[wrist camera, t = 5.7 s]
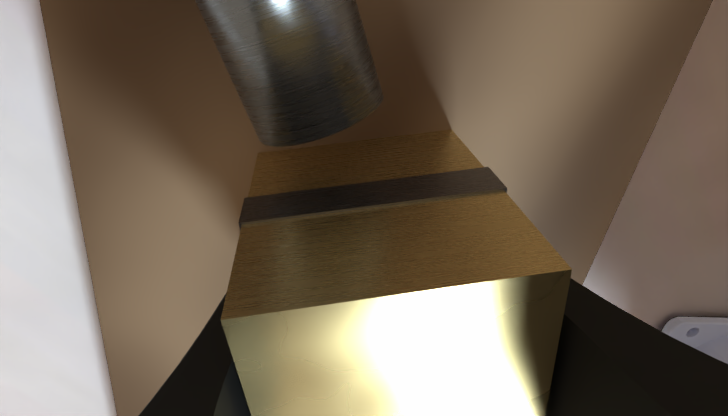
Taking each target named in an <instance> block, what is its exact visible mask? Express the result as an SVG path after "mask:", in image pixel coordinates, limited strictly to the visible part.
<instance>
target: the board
mask: <svg viewBox="0 0 728 416" xmlns="http://www.w3.org/2000/svg"><path fill="white" fill-rule="evenodd" d="M712 1H713V0H356V3H357V6H358V9H359V13H360V16H361V20H362V23H363V27H364V30H365V34H366V37H367V41H368V44H369V48H370V51H371V54H372V58H373V61H374V65H375V68H376V72H377V75H378V79H379V82H380V86H381V89H382V92H383V96H384V97H383V101H382V103H381V104H380V106H379V107H378V108H377V109H376V110H375V111H374V112H373V113H371V114H370V115H369V116H367V117H366V118H365V119H363V120H361V121H360V122H358V123H356V124H354V125H353V126H351V127H349V128H347V129H344V130H342V131H340V132H338V133H335V134H333V135H330V136H327V137H325V138H322V139H319V140H315V141H312V142H308V143H304V144H299V145H294V146H286V147H271V146H266V145H264V144H262V143H261V142H260V141H259V139H258V136H257V134H256V132H255V130H254V128H253V125H252V123H251V121H250V119H249V117H248V115H247V112H246V110H245V108H244V106H243V104H242V101H241V99H240V97H239V95H238V93H237V91H236V88H235V86H234V84H233V82H232V80H231V78H230V75H229V73H228V71H227V69H226V67H225V64H224V62H223V60H222V58H221V56H220V54H219V51H218V49H217V47H216V45H215V43H214V41H213V38H212V36H211V34H210V32H209V30H208V27H207V25H206V23H205V21H204V19H203V17H202V14H201V12H200V10H199V8H198V6H197V4H196V1H195V0H40V5H41V10H42V16H43V21H44V26H45V32H46V37H47V42H48V48H49V53H50V58H51V64H52V69H53V74H54V80H55V85H56V90H57V96H58V101H59V107H60V112H61V117H62V123H63V128H64V133H65V139H66V144H67V149H68V155H69V160H70V165H71V171H72V176H73V181H74V187H75V192H76V197H77V203H78V208H79V213H80V219H81V224H82V229H83V235H84V240H85V245H86V251H87V256H88V262H89V267H90V272H91V278H92V283H93V288H94V294H95V299H96V304H97V310H98V315H99V320H100V326H101V331H102V336H103V342H104V347H105V352H106V358H107V363H108V368H109V374H110V379H111V384H112V390H113V395H114V400H115V406H116V411H117V416H138V415H139V414H140V413H141V412H142V410H143V409H144V408H145V407H146V406H147V404H148V403H149V402H150V401H151V399H152V398H153V397H154V395H155V394H156V393H157V392H158V390H159V389H160V388H161V386H162V385H163V384H164V383H165V381H166V380H167V379H168V377H169V376H170V375H171V373H172V372H173V371H174V370H175V368H176V367H177V365H178V364H179V363H180V361H181V360H182V358H183V357H184V356H185V354H186V353H187V351H188V350H189V348H190V347H191V346H192V344H193V343H194V341H195V340H196V338H197V337H198V336H199V334H200V333H201V331H202V330H203V328H204V327H205V325H206V323H207V322H208V320H209V319H210V317H211V316H212V314H213V313H214V311H215V310H216V308H217V306H218V305H219V303H220V302H221V300H222V299H223V297H224V295H225V294H226V292H227V289H228V284H229V280H230V275H231V271H232V266H233V262H234V257H235V253H236V248H237V244H238V239H239V235H240V227H239V224H238V223H239V218H240V214H241V210H242V206H243V201H244V198H246V197H248V195H249V190H250V186H251V181H252V177H253V172H254V168H255V163H256V159H257V154H258V153H261V152H269V151H278V150H286V149H294V148H302V147H311V146H319V145H327V144H335V143H344V142H352V141H360V140H368V139H377V138H385V137H393V136H401V135H410V134H418V133H426V132H434V131H443V130H451V129H452V130H453V131H454V133H455V134H456V135H457V136H458V137H459V138H460V139H461V141H462V142H463V143H464V144H465V145H466V146H467V148H468V149H469V150H470V151H471V152H472V153H473V155H474V156H475V157H476V158H477V159H478V160H479V162H480V163H481V164H482V165H483V166H484V167H489V168H490V169H491V170H492V171H493V172H494V174H495V175H496V176H497V177H498V178H499V179H500V180H501V182H502V183H503V184H504V185H505V186H506V187H507V194H508V195H509V196H510V198H511V199H512V200H513V201H514V202H515V203H516V205H517V206H518V207H519V208H520V209H521V210H522V212H523V213H524V214H525V215H526V216H527V217H528V219H529V220H530V221H531V222H532V223H533V224H534V226H535V227H536V228H537V229H538V230H539V231H540V233H541V234H542V235H543V236H544V237H545V238H546V240H547V241H548V242H549V243H550V244H551V245H552V247H553V248H554V249H555V250H556V251H557V252H558V253H559V255H560V256H561V257H562V258H563V259H564V260H565V262H566V263H567V264H568V265H569V266H570V267H571V269H572V273H571V279H573V280H575V281H576V282H578V283H579V284H581V285H582V284H583V282H584V280H585V278H586V276H587V273H588V271H589V269H590V267H591V265H592V263H593V260H594V258H595V256H596V254H597V252H598V249H599V247H600V245H601V243H602V241H603V239H604V236H605V234H606V232H607V230H608V228H609V225H610V223H611V221H612V219H613V217H614V215H615V212H616V210H617V208H618V206H619V204H620V201H621V199H622V197H623V195H624V193H625V191H626V188H627V186H628V184H629V182H630V180H631V177H632V175H633V173H634V171H635V169H636V167H637V164H638V162H639V160H640V158H641V156H642V153H643V151H644V149H645V147H646V145H647V143H648V140H649V138H650V136H651V134H652V132H653V129H654V127H655V125H656V123H657V121H658V119H659V116H660V114H661V112H662V110H663V108H664V105H665V103H666V101H667V99H668V97H669V95H670V92H671V90H672V88H673V86H674V84H675V81H676V79H677V77H678V75H679V73H680V71H681V68H682V66H683V64H684V62H685V60H686V58H687V55H688V53H689V51H690V49H691V47H692V44H693V42H694V40H695V38H696V36H697V34H698V31H699V29H700V27H701V25H702V23H703V20H704V18H705V16H706V14H707V12H708V10H709V7H710V5H711V3H712Z"/></svg>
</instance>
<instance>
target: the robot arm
mask: <svg viewBox="0 0 728 416" xmlns="http://www.w3.org/2000/svg"><path fill="white" fill-rule="evenodd" d="M226 293H227V292H226ZM225 298H226V294H225V295H224V297H223V299H222V300H221V302H220V303H219V305H218V306H217V308H216V310H215V311H214V313H213V314H212V316H211V317H210V319H209V320H208V322H207V323H206V325H205V327H204V328H203V330H202V331H201V333H200V334H199V336H198V337H197V338H196V340H195V341H194V343H193V344H192V346H191V347H190V348H189V350H188V351H187V353H186V354H185V356H184V357H183V358H182V360H181V361H180V363H179V364H178V365H177V367H176V368H175V370H174V371H173V372H172V373H171V375H170V376H169V377H168V379H167V380H166V381H165V383H164V384H163V385H162V386H161V388H160V389H159V390H158V392H157V393H156V394H155V395H154V397H153V398H152V399H151V401H150V402H149V403H148V404H147V406H146V407H145V408H144V409H143V410H142V412H141V413H140V414H139V415H138V416H251V413H250V410H249V407H248V403H247V400H246V397H245V394H244V391H243V388H242V385H241V382H240V379H239V376H238V372H237V369H236V366H235V363H234V360H233V357H232V354H231V351H230V348H229V345H228V341H227V338H226V335H225V332H224V329H223V326H222V323H221V316H222V311H223V307H224V302H225ZM545 416H728V318H715V317H675V318H673V319H671V320H670V321H668V322H667V323H666V325H665V326H664V328H663V329H662V331H659V330H657V329H656V328H654V327H652V326H650V325H648V324H647V323H645V322H643V321H641V320H639V319H638V318H636V317H634V316H632V315H631V314H629V313H627V312H625V311H623V310H622V309H620V308H618V307H617V306H615V305H613V304H612V303H610V302H608V301H607V300H605V299H603V298H602V297H600V296H598V295H597V294H595V293H594V292H592V291H590V290H589V289H587V288H586V287H584V286H582V285H581V284H579V283H578V282H576V281H575V280H573V279H571V278H570V284H569V289H568V294H567V300H566V305H565V311H564V316H563V321H562V327H561V332H560V338H559V343H558V348H557V354H556V359H555V364H554V370H553V375H552V381H551V386H550V391H549V397H548V402H547V407H546V413H545Z"/></svg>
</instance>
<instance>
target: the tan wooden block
mask: <svg viewBox="0 0 728 416" xmlns="http://www.w3.org/2000/svg"><path fill="white" fill-rule="evenodd" d="M238 224H239V227H240V235H239V239H238V244H237V248H236V253H235V257H234V262H233V266H232V271H231V275H230V280H229V284H228V289H227V293H226V298H225V302H224V307H223V311H222V316H221V323H222V326H223V329H224V332H225V335H226V338H227V341H228V345H229V348H230V351H231V354H232V357H233V360H234V363H235V366H236V369H237V372H238V376H239V379H240V382H241V385H242V388H243V391H244V394H245V397H246V400H247V403H248V407H249V410H250V413H251V416H545V413H546V407H547V402H548V397H549V391H550V386H551V381H552V375H553V370H554V364H555V359H556V354H557V348H558V343H559V338H560V332H561V327H562V321H563V316H564V311H565V305H566V300H567V294H568V289H569V284H570V278H571V273H572V269H571V267H570V266H569V265H568V264H567V263H566V262H565V260H564V259H563V258H562V257H561V256H560V255H559V253H558V252H557V251H556V250H555V249H554V248H553V247H552V245H551V244H550V243H549V242H548V241H547V240H546V238H545V237H544V236H543V235H542V234H541V233H540V231H539V230H538V229H537V228H536V227H535V226H534V224H533V223H532V222H531V221H530V220H529V219H528V217H527V216H526V215H525V214H524V213H523V212H522V210H521V209H520V208H519V207H518V206H517V205H516V203H515V202H514V201H513V200H512V199H511V198H510V196H509V195H508V194H507V187H506V186H505V185H504V184H503V183H502V182H501V180H500V179H499V178H498V177H497V176H496V175H495V174H494V172H493V171H492V170H491V169H490V168H489V167H484V166H483V165H482V164H481V163H480V162H479V160H478V159H477V158H476V157H475V156H474V155H473V153H472V152H471V151H470V150H469V149H468V148H467V146H466V145H465V144H464V143H463V142H462V141H461V139H460V138H459V137H458V136H457V135H456V134H455V133H454V131H453V130H452V129H451V130H443V131H434V132H426V133H418V134H410V135H401V136H393V137H385V138H377V139H368V140H360V141H352V142H344V143H335V144H327V145H319V146H311V147H302V148H294V149H286V150H278V151H269V152H261V153H258V154H257V159H256V163H255V168H254V172H253V177H252V181H251V186H250V190H249V195H248V197H246V198H244V201H243V206H242V210H241V214H240V218H239V223H238Z"/></svg>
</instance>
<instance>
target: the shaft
mask: <svg viewBox="0 0 728 416" xmlns="http://www.w3.org/2000/svg"><path fill="white" fill-rule="evenodd" d="M195 1H196V4H197V6H198V8H199V10H200V12H201V14H202V17H203V19H204V21H205V23H206V25H207V27H208V30H209V32H210V34H211V36H212V38H213V41H214V43H215V45H216V47H217V49H218V51H219V54H220V56H221V58H222V60H223V62H224V64H225V67H226V69H227V71H228V73H229V75H230V78H231V80H232V82H233V84H234V86H235V88H236V91H237V93H238V95H239V97H240V99H241V101H242V104H243V106H244V108H245V110H246V112H247V115H248V117H249V119H250V121H251V123H252V125H253V128H254V130H255V132H256V134H257V136H258V139H259V141H260V142H261V143H262V144H264V145H266V146H271V147H286V146H294V145H299V144H304V143H308V142H312V141H315V140H319V139H322V138H325V137H327V136H330V135H333V134H335V133H338V132H340V131H342V130H344V129H347V128H349V127H351V126H353V125H354V124H356V123H358V122H360V121H361V120H363V119H365V118H366V117H367V116H369V115H370V114H371V113H373V112H374V111H375V110H376V109H377V108H378V107H379V106H380V104H381V103H382V101H383V97H384V96H383V92H382V89H381V86H380V82H379V79H378V75H377V72H376V68H375V65H374V61H373V58H372V54H371V51H370V48H369V44H368V41H367V37H366V34H365V30H364V27H363V23H362V20H361V16H360V13H359V9H358V6H357V3H356V0H195Z"/></svg>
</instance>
